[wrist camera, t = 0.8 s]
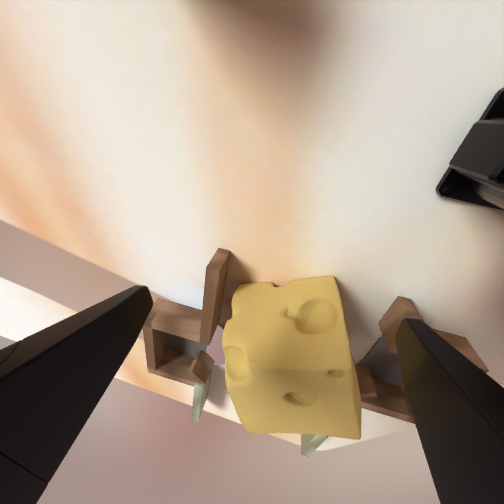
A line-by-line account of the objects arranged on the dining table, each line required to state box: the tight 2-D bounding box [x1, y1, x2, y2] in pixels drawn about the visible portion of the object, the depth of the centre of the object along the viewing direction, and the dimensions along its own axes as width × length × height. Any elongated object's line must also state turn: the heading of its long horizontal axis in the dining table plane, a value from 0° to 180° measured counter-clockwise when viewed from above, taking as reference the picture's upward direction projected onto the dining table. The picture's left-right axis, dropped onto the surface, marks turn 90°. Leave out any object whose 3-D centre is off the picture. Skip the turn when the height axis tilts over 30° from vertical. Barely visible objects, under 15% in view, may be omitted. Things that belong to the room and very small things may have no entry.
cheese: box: [222, 276, 361, 440], centre depth 21 cm, size 10×11×10 cm
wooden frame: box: [143, 248, 489, 457], centre depth 29 cm, size 33×31×4 cm
